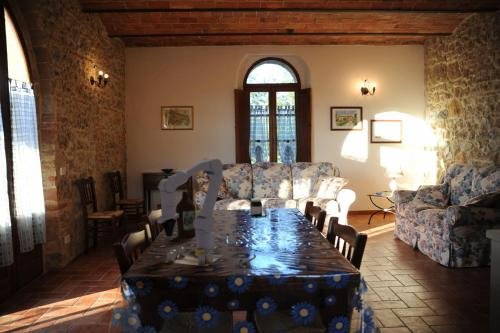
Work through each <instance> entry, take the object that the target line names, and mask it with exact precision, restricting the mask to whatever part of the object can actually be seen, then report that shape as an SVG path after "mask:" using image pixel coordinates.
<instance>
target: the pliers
mask: <svg viewBox="0 0 500 333" xmlns="http://www.w3.org/2000/svg"><path fill="white" fill-rule="evenodd" d="M256 257H257V256H256V254H255V253H253V257H251V258H250V259H247V260H242V259H240V260H239V262H240V263H239V267H240V268H241V269H242V268H243V267H244V265H245V266H246V267H247V268H249V267H250V266H251V264H250V262H251V261H252V260H254V259H255V258H256Z"/></svg>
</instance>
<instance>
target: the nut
mask: <svg viewBox="0 0 500 333" xmlns="http://www.w3.org/2000/svg"><path fill="white" fill-rule="evenodd" d="M194 253H195V257H198V254H204V253H206V250H205V248H197V247H196V248H194Z"/></svg>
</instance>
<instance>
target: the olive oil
mask: <svg viewBox="0 0 500 333" xmlns="http://www.w3.org/2000/svg"><path fill="white" fill-rule="evenodd" d="M181 192H182V194H181V199H180V200H179V201H178V203H177V204H176V206H175V213H179V217H178V218H176V226H177V227H176V228H177V237H178V238H180V237H182V238H183V239H188V237H189V238H194V237H196V229H195V228H194V226H193V221H194V219H195V218H196V205H195V203H194V202H193V201H192V200H191V199H190V197H189V191H188V190H183V191H181ZM193 236H194V237H193Z"/></svg>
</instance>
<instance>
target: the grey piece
mask: <svg viewBox="0 0 500 333" xmlns="http://www.w3.org/2000/svg"><path fill="white" fill-rule="evenodd" d="M186 253H187V252H186V247H185V246H179V247H178V249H176V248H175V249H174V248H173V249H170V250H169V251H167V252H166V259H167V260H166V261H167V262H168V264H174V263H173V262H175V260H177V256H178V255H179V257H180V258H183V257H186ZM213 255H214V249H210V250H205V253H204V254H198V265H197V266H200V265H205V264H209V265H211V264H213V262H212V260H213ZM167 262H166V263H167Z"/></svg>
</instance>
